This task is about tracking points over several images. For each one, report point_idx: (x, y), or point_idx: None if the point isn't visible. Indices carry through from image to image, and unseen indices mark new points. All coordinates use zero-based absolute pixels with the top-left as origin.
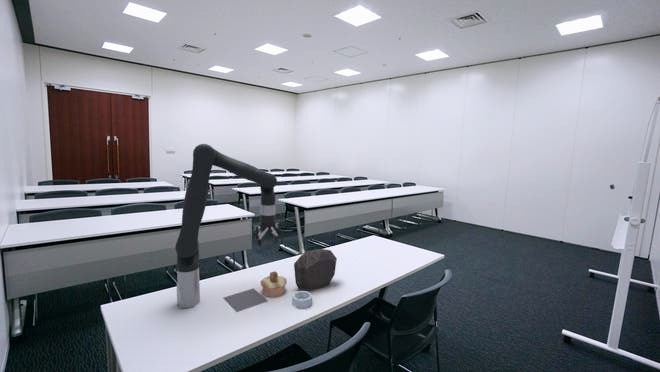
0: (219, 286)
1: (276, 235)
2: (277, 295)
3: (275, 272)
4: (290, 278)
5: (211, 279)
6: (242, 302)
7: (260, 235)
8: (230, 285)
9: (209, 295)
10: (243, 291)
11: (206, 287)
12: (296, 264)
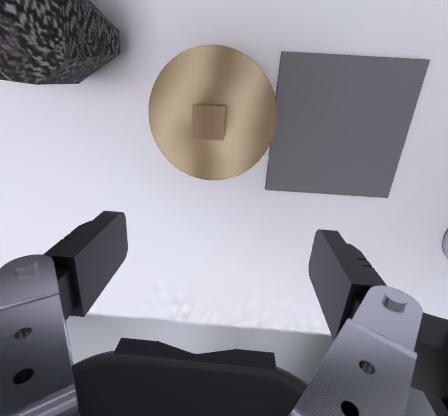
0: None
1: (39, 265)
2: None
3: (197, 122)
4: (98, 171)
5: (327, 329)
6: (363, 116)
7: (414, 346)
8: (308, 261)
9: (401, 243)
10: (306, 191)
11: None
12: (55, 19)
